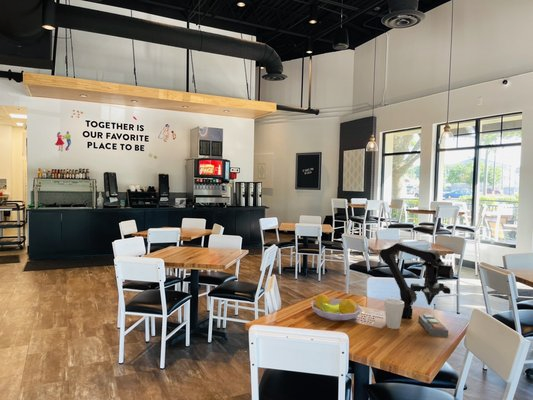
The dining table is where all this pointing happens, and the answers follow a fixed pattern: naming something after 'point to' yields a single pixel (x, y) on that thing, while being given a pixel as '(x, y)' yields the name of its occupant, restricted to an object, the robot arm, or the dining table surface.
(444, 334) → the button panel
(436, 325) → the terracotta button
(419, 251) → the robot arm
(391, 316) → the foam cup
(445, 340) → the dining table surface
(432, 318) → the slate blue button
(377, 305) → the dining table surface
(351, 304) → the fruit bowl
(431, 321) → the sage button
